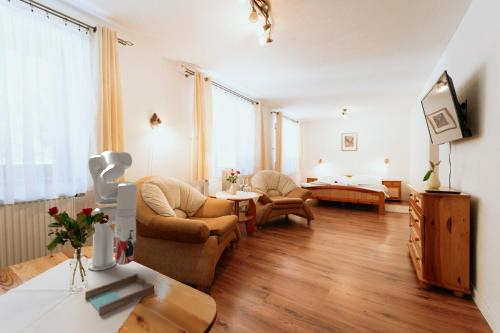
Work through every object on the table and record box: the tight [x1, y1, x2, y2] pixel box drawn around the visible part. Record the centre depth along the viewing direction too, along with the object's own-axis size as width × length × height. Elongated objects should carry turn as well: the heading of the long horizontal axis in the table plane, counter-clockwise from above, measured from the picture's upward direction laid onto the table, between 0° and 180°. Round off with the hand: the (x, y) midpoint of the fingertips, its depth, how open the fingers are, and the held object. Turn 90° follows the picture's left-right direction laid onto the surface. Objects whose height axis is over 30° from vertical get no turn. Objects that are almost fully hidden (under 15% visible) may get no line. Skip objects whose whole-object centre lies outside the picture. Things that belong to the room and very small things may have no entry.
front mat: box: [87, 290, 121, 313], centre depth 93 cm, size 13×9×1 cm
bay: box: [84, 273, 155, 317], centre depth 97 cm, size 16×21×3 cm
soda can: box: [114, 238, 135, 266], centre depth 98 cm, size 7×7×12 cm
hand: (124, 253), depth 98 cm, fingers closed on soda can, 6 cm apart
